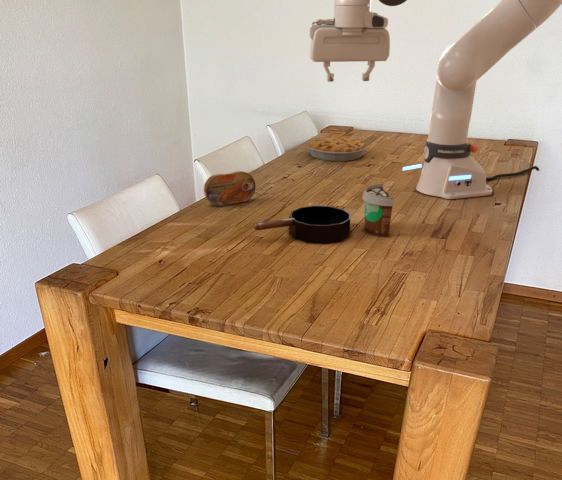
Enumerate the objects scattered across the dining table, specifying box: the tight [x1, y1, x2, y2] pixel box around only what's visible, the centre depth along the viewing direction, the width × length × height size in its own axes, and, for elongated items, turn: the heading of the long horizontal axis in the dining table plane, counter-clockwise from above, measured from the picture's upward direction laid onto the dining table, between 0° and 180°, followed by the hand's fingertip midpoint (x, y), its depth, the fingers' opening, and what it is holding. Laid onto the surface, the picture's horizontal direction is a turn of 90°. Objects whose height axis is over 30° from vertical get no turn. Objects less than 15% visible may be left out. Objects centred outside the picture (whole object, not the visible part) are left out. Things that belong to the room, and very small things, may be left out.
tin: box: [203, 170, 256, 207], centre depth 164 cm, size 15×3×8 cm, turn 117°
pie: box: [306, 136, 368, 162], centre depth 213 cm, size 22×22×5 cm
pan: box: [253, 205, 352, 245], centre depth 144 cm, size 25×15×5 cm, turn 112°
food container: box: [362, 183, 394, 237], centre depth 146 cm, size 12×6×10 cm, turn 5°
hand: (347, 81), depth 152 cm, fingers open, 8 cm apart
